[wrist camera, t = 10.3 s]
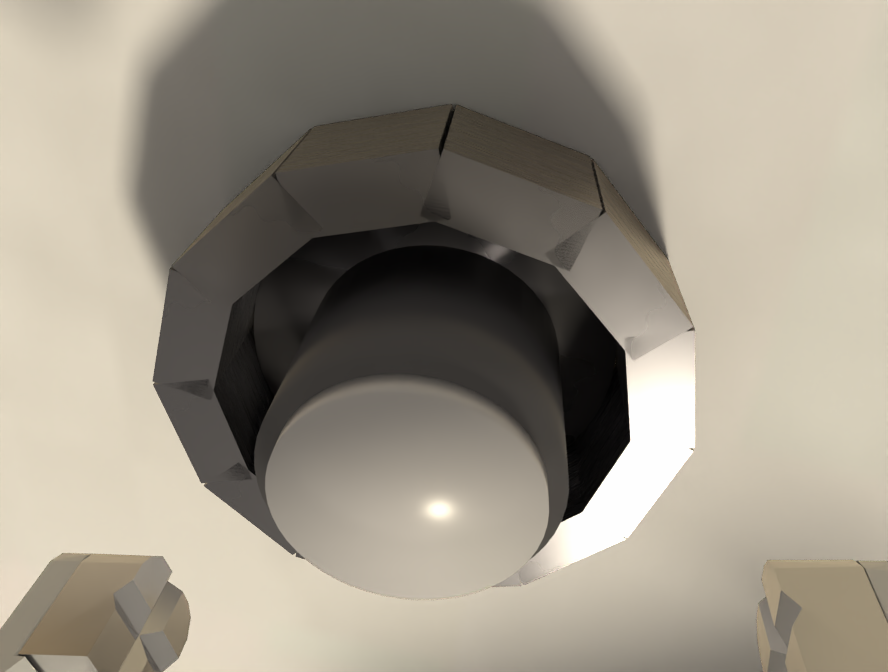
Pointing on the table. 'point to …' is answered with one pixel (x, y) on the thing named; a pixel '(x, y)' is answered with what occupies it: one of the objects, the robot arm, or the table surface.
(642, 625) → the table surface
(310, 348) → the cap
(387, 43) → the table surface
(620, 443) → the grey ashtray
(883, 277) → the table surface
